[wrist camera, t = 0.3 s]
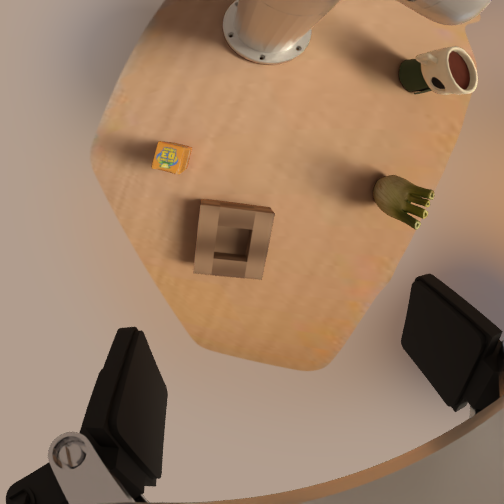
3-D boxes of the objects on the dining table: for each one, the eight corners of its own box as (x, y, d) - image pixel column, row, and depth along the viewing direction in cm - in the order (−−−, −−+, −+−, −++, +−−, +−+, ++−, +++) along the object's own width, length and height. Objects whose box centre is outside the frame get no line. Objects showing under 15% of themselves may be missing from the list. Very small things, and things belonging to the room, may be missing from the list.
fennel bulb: (376, 211, 45) (418, 235, 34) (362, 188, 43) (405, 207, 32) (399, 191, 44) (445, 209, 33) (386, 167, 43) (433, 181, 32)
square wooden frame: (201, 198, 41) (200, 204, 38) (269, 206, 43) (274, 213, 39) (194, 261, 45) (193, 273, 41) (257, 268, 47) (261, 279, 43)
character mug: (383, 84, 37) (435, 75, 25) (386, 47, 35) (436, 30, 23) (431, 106, 39) (484, 107, 27) (434, 71, 36) (485, 65, 24)
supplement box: (193, 145, 38) (187, 147, 29) (187, 168, 39) (178, 178, 30) (170, 139, 37) (157, 140, 28) (164, 163, 38) (149, 171, 29)
